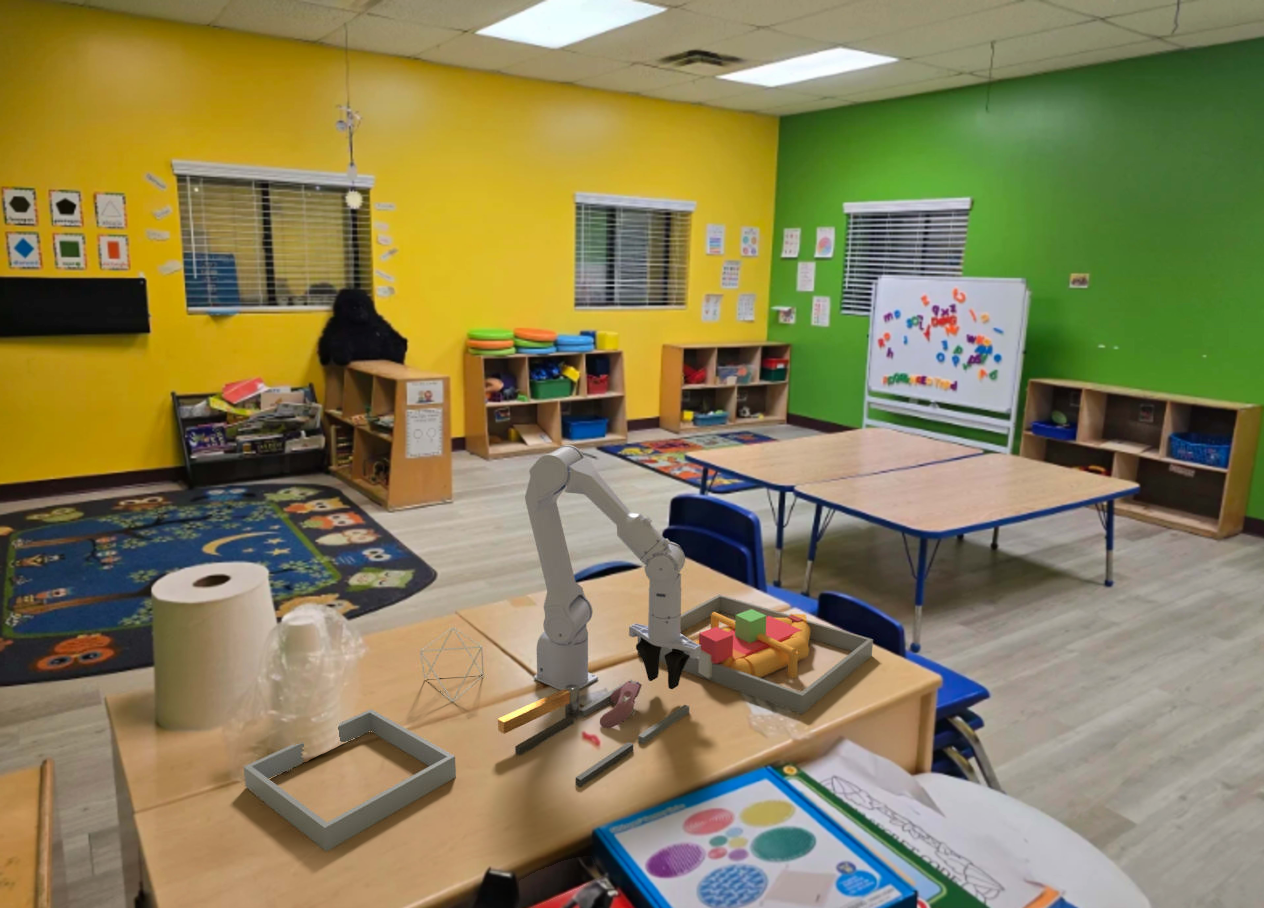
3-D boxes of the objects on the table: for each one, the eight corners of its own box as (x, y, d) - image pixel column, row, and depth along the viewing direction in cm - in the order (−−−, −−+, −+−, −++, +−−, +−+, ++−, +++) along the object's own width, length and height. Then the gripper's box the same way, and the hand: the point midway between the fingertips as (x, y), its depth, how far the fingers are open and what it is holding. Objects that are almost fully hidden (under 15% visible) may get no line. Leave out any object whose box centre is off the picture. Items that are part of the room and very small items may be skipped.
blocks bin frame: (637, 653, 169) (637, 637, 168) (718, 608, 191) (719, 594, 190) (801, 713, 146) (802, 695, 145) (871, 655, 169) (873, 639, 168)
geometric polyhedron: (483, 700, 150) (482, 653, 148) (420, 704, 148) (418, 657, 146) (483, 668, 162) (482, 624, 160) (425, 672, 160) (423, 627, 158)
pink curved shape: (620, 739, 141) (639, 707, 139) (596, 725, 141) (615, 693, 139) (631, 709, 150) (649, 679, 148) (609, 697, 150) (626, 666, 148)
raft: (846, 653, 169) (849, 612, 167) (742, 702, 151) (743, 656, 148) (762, 616, 186) (764, 578, 184) (659, 656, 168) (659, 614, 166)
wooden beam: (572, 709, 146) (572, 682, 145) (582, 714, 144) (582, 687, 143) (497, 746, 134) (496, 717, 133) (506, 752, 133) (505, 722, 132)
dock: (515, 752, 133) (515, 746, 133) (627, 687, 155) (627, 681, 154) (580, 786, 125) (580, 779, 125) (689, 712, 146) (689, 706, 146)
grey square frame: (245, 787, 124) (243, 766, 123) (372, 727, 140) (371, 708, 140) (326, 851, 111) (324, 827, 110) (455, 776, 127) (455, 755, 126)
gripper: (711, 615, 147) (709, 686, 150) (646, 595, 156) (645, 662, 159) (688, 628, 142) (686, 702, 144) (622, 606, 150) (621, 676, 153)
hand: (663, 682), depth 151 cm, fingers open, 4 cm apart
